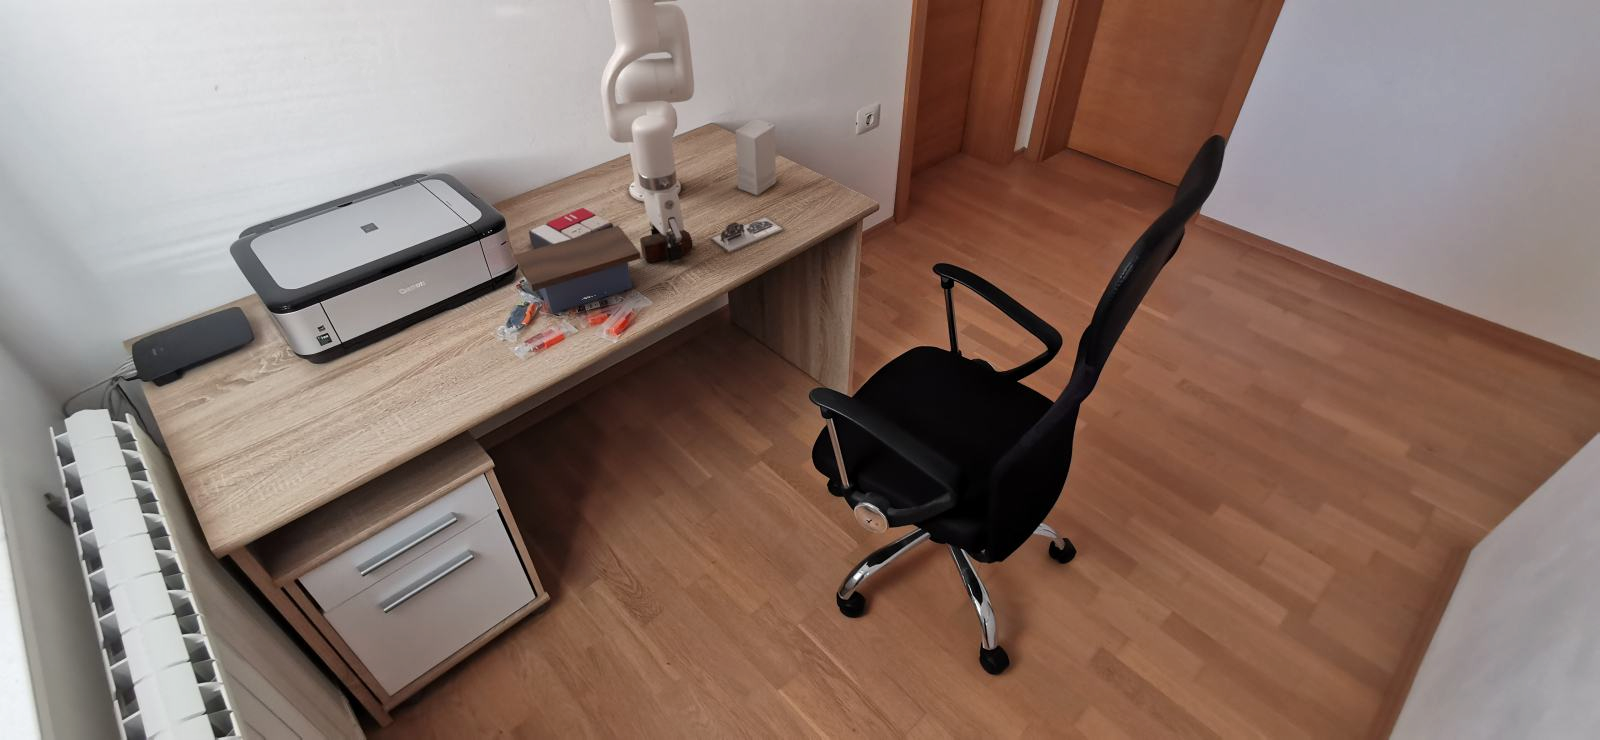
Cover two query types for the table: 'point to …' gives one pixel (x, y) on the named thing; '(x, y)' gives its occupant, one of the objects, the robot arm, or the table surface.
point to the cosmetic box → (756, 156)
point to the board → (576, 257)
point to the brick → (662, 245)
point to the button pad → (568, 228)
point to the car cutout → (745, 233)
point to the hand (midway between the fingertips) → (667, 251)
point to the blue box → (587, 288)
